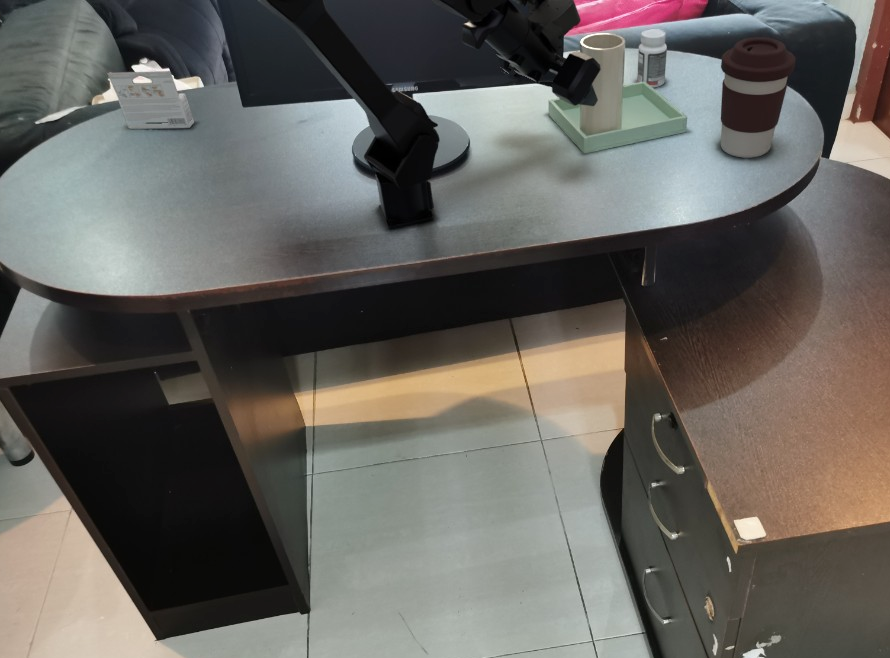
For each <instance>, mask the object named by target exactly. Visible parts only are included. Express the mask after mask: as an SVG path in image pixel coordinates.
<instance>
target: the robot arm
mask: <svg viewBox="0 0 890 658" xmlns="http://www.w3.org/2000/svg"><path fill="white" fill-rule="evenodd" d="M256 1H257V2H258V3H259V4H261V5H262V6H263V7H265V8H266V9H267V10H268V11H270V12H271V13H272V14H273V15H275V16H276V17H278V18H279V19H280V20H281V21H282V22H284V23H286V24H287V25H288V26H289V27H291V28H292V29H293V30H294V31H295V33H297V34H298V35H299V37H300V38H301V39H302V40H303V41H304V42H305V44H306V45H307V46H308V47H309V49H311V51H312V52H313V53H314V54H315V55H316V57H317V58H318V59H319V60H320V61H321V62H322V63H323V65H324V66H325V67H326V68H327V69H328V70H329V72H330V73H331V74H332V75H333V76H334V77H335V79H336V80H337V81H338V82H339V83H340V84H341V86H342V87H343V88H344V89H345V91H347V92H348V94H349V95H350V96H351V97H352V98H353V100H354V101H355V102H356V103H357V104H358V105H359V106H360V107H361V109H362V110H363V111H364V113H365V115H366V119H367V122H368V125H369V128H370V130H371V131H372V133H373V135H374V137H373V139H372V141H371V142H370V144H369V146H368V147H367V149H366V151H365V153H364V155H363V158H364V160H365V162H366V164H367V165H368V167H369V168H370V169H371V170H374V171H375V181H376V186H377V192H378V198H379V202H380V204H379V205H378V209H379V211H380V214H381V216H382V218H383V220H384V222H385V224H386V227H387V229H388V230H393V229H399V228H403V227H408V226H412V225H416V224H422V223H425V222H429V221H433V220H434V219H435V217H434V213H433V210H434V207H435V206H434V199H433V198H434V197H433V191H432V185H431V184H432V183H431V181H430V180H431V179H432V175H433V170H434V164H435V159H436V156H437V153H438V149H439V144H440V141H441V139H440V135H439V133H438V131H437V130H436V129H435V128H437V127H439V124H438V123H437V122H435V121H433V120H432V119H431V118H430V117H429V115H428V113H427V111H426V109H425V108H424V106H423V104H422V103H421V102H419V101H417V100H415V99H414V98H412V97H410V96H409V95H407V94H405V93H403V92H401V91H400V90H398V89H396V90H395V91H394V93H393V92H392V91H391V89H390V88H389V87H388V85H387V84H386V83H385V82H384V81H383V79H382V78H381V77H380V76H379V74H378V73H377V71H375V69H374V68H373V67H372V66H371V65H370V63H369V62H368V61H367V60H366V58H365V57H364V55H362V52H360V51H359V49H358V48H357V47H356V46H355V45H354V43H353V42H352V41H351V39H350V38H349V37H348V36H347V34H346V33H345V32H344V30H342V28H341V27H340V26H339V24H338V23H337V22H336V21H335V19H334V18H333V17H332V16H331V14H330V13H329V11H328V9H327V7H326V4H325V0H256ZM430 1H431V2H432V3H434V4H436V5H437V6H439V7H440V8H441V9H443V10H445V11H447V12H449V13H451V14H454V15H456V16H459V17H461V18H463V19H465V20H468V22H466V23H462V26H461V27H462V33H461V43H462V44H464V45H466V46H468V47H470V48H473V49H475V50H476V51H479V50H480V49H481V48H482V47H483V45H484V43H485V42H486V44H488V45H489V46H490V47H491V48H492V49H495V50H496V52H495V54H496V55H497V56H498V57H499V62H500V68H502V69H503V70H504V71H505V72H507V73H508V74H509V73H510V71H511V69H510V68H508V67H509V66H511V67H513V70H514V71H515V72H516V74H515V75H514V76H512V77H513V78H515V79H517V80H521V78H520V77H521V76H520V75H522V76H525V77H527V78H529V79H531V80H533V81H535V82H537V83H536V84H537V85H541V86H545V87H549V88H551V93H553V94H554V95H555V96H556V97H557V98H560V99H561V100H563V101H565V102H567V103H569V104H572V105H574V106H576V105H578V104H579V105H587V106H595V104H596V103H597V101H598V99H597V96H596V93H595V91H594V88H593V85H592V83H593V82H594V80H595V78H596V77H597V75H598V73H599V72H600V70H601V67H600V64H599V63H598V62H597V61H596V60H595V59H594V58H593V57H591V56H588V55H586V54H583V53H581V52H580V51H579V50H576V51H572V52H570V53H569V54H568V55H567V57H564V56H563V55H559V54H557V53H559V52H560V51H561V49H562V47H563V46H564V43H563V42H562V41H561V39H562V38H564V37H565V36H566V35H567V34H568V33H569V32H570V31H571V30H573V28H574V27H578V25H579V24H580V23H581V21H582V20H581V16H580V14H579V13H580V12H579V11H578V8H577V5H576V3H575V0H511V1H510V0H430ZM514 3H515V4H517V5H519V6H521V7H526V6H527V12H528V17H527V16H526V15H525V14H524V13H523V12H522V11H520V9H519V8H518V7H516V5H514ZM548 71H550V72H551V73H552V74H553V75H555V76H554V77H555V78H554V80H553V82H540V83H538V81H539V80H540V78H541V76H542V75H545V74H546V73H547V72H548ZM505 72H504V73H505ZM508 74H507V75H508Z"/></svg>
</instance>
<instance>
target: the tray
mask: <svg viewBox="0 0 890 658" xmlns="http://www.w3.org/2000/svg"><path fill="white" fill-rule="evenodd" d="M548 116H549V117H550V118H551V119H552V120H553V121H554V122H555V123H556V124H557V126H558V127H559V128H560V129H561V130H562V132H563V133H565V134H566V135H567V136H568V138H569V139H570V140H571V141H572V142H573V143H574V144H575V145H576V147H578V149H579V150H580V151H581V152H582V153H583V154H589V153H594V152H598V151H604V150H607V149H611V148H612V149H613V148H617V147H623V146H627V145H631V144H636V143H642V142H646V141H650V140H655V139H660V138H664V137H669V136H674V135H679V134H684V133H687V125H688V116H687V115H686V114H685V113H684V112H683V111H681V110H680V109H679V108H678V107H676V106H675V105H674V104H673V103H672V102H671V101H669V100H668V99H667V98H665V97H664V96H663V95H662V94H661V93H660V92H658V91H657V90H656V89H654V87H653V88H652V87H651V86H650V85H649V84H647V83H646V82H645V81H644V82H639V83H638V82H634V83H629V84H623V108H622V129H618V130H613V131H608V132H603V133H599V134H594V135H589V136H586V135H585V134H584V133H583V132H582V131H581V130H580V105H579V104H578V105H576V106H574V105H572V104H569V103H567V102H565V101H563V100H561V99H560V98H559V97H557V98H553V99H549V100H548Z"/></svg>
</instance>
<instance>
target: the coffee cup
mask: <svg viewBox="0 0 890 658" xmlns="http://www.w3.org/2000/svg"><path fill="white" fill-rule="evenodd" d="M795 65H796V56H795V55H794V54H793V53H792V52H790V51H789V50H788V49H787V47H786V45H785V44H784V43H783V42H782V41H780V40H778V39H774V38H771V37H760V36H759V37H748V38H744V39H741V40H739V41H737V42H736V43H735V45H734V46H733V47H732V48H730V49H728V50H726V51H725V52H724V53H723V54H722V56H721V63H720V69H721V71H722V73H724V79H723V80H722V86H721V102H720V103H721V104H720V122H721V131H720V134H721V135H720V148H721V149H722V150H723V151H724V152H725V153H726V154H728V155H730V156H733V157H737V158H745V159H752V158H758V157H760V156H763V155H766V154H767V153H768V152H769V150H770V149H771V147H772V141H773V138H774V135H775V130H776V127H777V125H778V124H779V120H780V118H781V117H780V116H781V112H782V109H783V105H784V99H785V96H786V92H787V88H788V83H787V81H788V77H790V75H792V74H793V72H794V69H795Z"/></svg>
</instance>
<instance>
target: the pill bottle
mask: <svg viewBox="0 0 890 658" xmlns="http://www.w3.org/2000/svg"><path fill="white" fill-rule="evenodd" d="M640 42H641V43H640V44H639V45H638V54H637V55H638V56H637V74H636V75H637V76H636V77H637V79H636V83H639V82H644V81H645V82H646V83H647V84H649V85H650V86H651V87H652V88H653V89H654V88H658V87H660V86H662V85H664V84H665V82H666V69H667V53H668V48H667V47H668V45H667V44H666V43H665V42H666V32H665V30H662V29H659V28H650V29H649V28H648V29H645V30H643V31H642V32H641V34H640Z"/></svg>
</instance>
